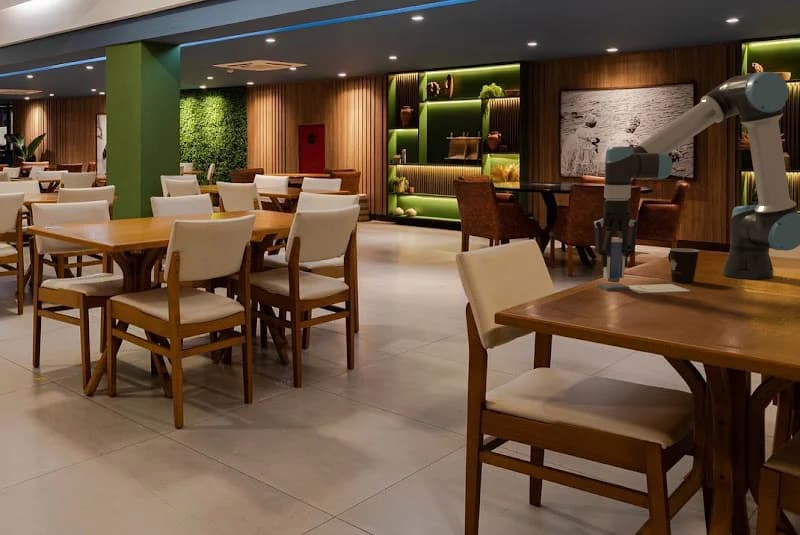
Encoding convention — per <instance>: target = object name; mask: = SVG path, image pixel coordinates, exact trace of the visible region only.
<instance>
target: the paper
mask: <svg viewBox="0 0 800 535" xmlns="http://www.w3.org/2000/svg"><path fill="white" fill-rule="evenodd" d="M627 286H628V287H630V290H629V291H632V292H634V293H637V294H659V293H665V294H666V293H688V292H689V293H690V292H691V290H690V289H687V288H684V287H681V286H678V285H675V284H672V283H664V284H661V283H660V284H635V285H633V284H631V285H627Z"/></svg>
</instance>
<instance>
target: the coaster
mask: <svg viewBox="0 0 800 535" xmlns="http://www.w3.org/2000/svg"><path fill="white" fill-rule="evenodd" d="M597 288H600V289H602V290H604V291H606V292H615V291H616V292H619V291H620V292H621V291H631V290H630V287H628V285H625V284H623V283H620V282H608V283H607V282H605V283H597Z"/></svg>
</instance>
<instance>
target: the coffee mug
mask: <svg viewBox="0 0 800 535" xmlns="http://www.w3.org/2000/svg"><path fill="white" fill-rule="evenodd" d="M699 251H700V250H699V249H695V248H687V247H686V248H681V247H680V248H679V247H677V248H676V247H675V248H670V249H669V253H668V255H667V256H668V257H667V258H668V261H669V264H670V276H671V282H672V283H677V284H692V283H694V282H695V281H694V280H695V275H696V268H697V263H698V260H699V253H700V252H699Z"/></svg>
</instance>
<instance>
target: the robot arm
mask: <svg viewBox="0 0 800 535" xmlns="http://www.w3.org/2000/svg"><path fill="white" fill-rule="evenodd" d="M789 92H790V91H789V86H788V84H787V82H786V80H785V79H784V77H782V76H781V75H779V74H778V73H776V72H773V71H757V72H753V73H752V72H751V73H748V74H744V75H743V74H740V75H735V76H733V77H730V78H729V79H727V80H726V81H723V82H722V83H721V84H719V85H718V86H716V87H715V88H713V89H712V90H711V91H709V92H708V93H706V94H705V95H704V96H702V97H701V98H700V101H699V103H698V104H696V105H695V106H693V107H691V108H690V109H689V110H688V111H686V112H684V113H683V114H682V115H680V116H678V117H677V118H676V119H674V120H673V121H671V122H670V123H669V124H667V125H666V126H664V127H663V128H661V129H660V130H658V131H657V132H655V133H654V134H652V135H651V136H650V137H648V138H646V139H645V140H644V141H642V142H641V143H639V144H637V145H636V146H635V147H632V146H609V147H607V149H606V151H605V160H604V165H605V166H604V186H603V187H604V190H603V197H604V201H603V216H602V217H601V219H599V220H594V221H593V226H594V230H595V231H594V233H595V234H594V235H595V236H594V237H595V238H594V239H595V240H594V242H595V243H594V244H595V245H594V248H595V249H594V252H595V254H597V255H600V257H601V258H600V259H601V260H600V266H601V267H603V275H602V277H603V279H606V280H608V279H609V278H610V257H609V256H608V253H609V249H610V244H611V240H612V237H613V236H614V233H615V232H617V234H618V238H623V242H622V259H621V277H620V279H625V272H626V271H625V267H627V266H628V264H629V263H628V259H629V258H628V257H630V255H633V254H635V249H636V248H635V247H636V238H637V228H638V226H639V224H640V222H639V221H638V220H634V219H631V216H630V211H631V201H630V200H629V199H631V197H632V196H631V194H632V191H631V190H632V180H636V179H637V180H638V179H641V180H645V179H647V180H649V179H651V180H652V179H653V180H661V179H667V178H668V177H669V176H670V175H671V174H672V171H673V160H672V158H671V156H670V155H669V154H670V153H671V152H672V151H674V150H676V149H677V148H679V147H681V146H682V145H683V144H685V143H686V142H687V141H689V140H691V139H692V138H693V137H695V136H696V135H697V134H699V133H701V132H702V131H704V130H705V129H706V128H708V127H710V126H711V125H713V124H714V123H716V124H718V123H721V122H723V121H724V120H725V119H727V118H730V117H732V116H737V115H739V120H740V121H739V122H740V124H742V125H743V126H745V127H746V129H747V135H748V141H749V148H750V155H751V160H752V167H753V174H754V180H755V181H754V182H755V187H756V193H757V200H758V204H756V205H755V204H754V205H739V206H738V205H737V206H735V207H734V208H733V209H732V214H731V218H730V219H731V227H730V228H731V230H730V243H729V244H730V246H729V253H728V255H727V257H726V260H725V262H724V265H723V267H722V275H723V276H725V277H730V278H738V279H746V280H747V279H748V280H766V279H771V278H774V268H773V264H772V260H771V257H770V249H772V250H775V251H786V252H787V251H788V252H789V251H792V250H794V249H797V248H798V247H799V246H800V213H799V212H798V206H797V202H795V201H794V200H792V199H791V197H790V191H789V185H788V184H789V183H788V178H787V177H788V176H787V171H786V170H787V169H786V163H785V157H784V150H783V143H782V137H781V130H780V123H779V120H781V118H782V117H783V115H784V110H783V107H785V105H786V103H787V101H788V99H789ZM603 226H605V231H604V233H605V234H604V238H603ZM627 226H628V227H629V228H628V233H627V230H626V227H627ZM627 234H628V235H627Z"/></svg>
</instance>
